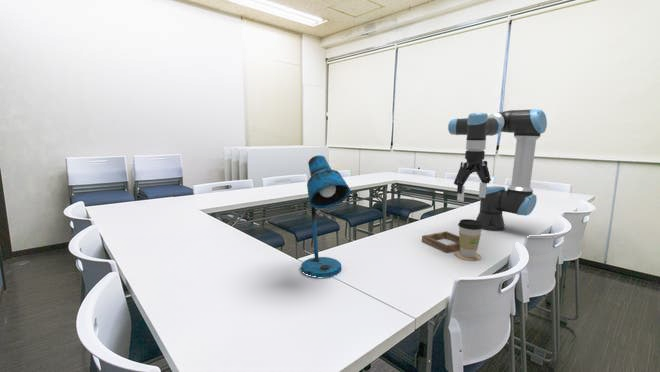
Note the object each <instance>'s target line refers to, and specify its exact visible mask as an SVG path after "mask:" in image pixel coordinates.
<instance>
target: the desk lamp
mask: <svg viewBox="0 0 660 372" xmlns="http://www.w3.org/2000/svg"><path fill="white" fill-rule="evenodd" d="M325 157H326V156H324V155H314V156H312V157H311V158H310V159H309V160H308V162H307V163H308V170H309V173H310V177H309V179H308V181H307V183H306V187H307V196H308V203H309V206H311V207H310V208H311V211H310V212H311V226H312V227H311V229H312V241H313V243H312V245H313V253H314V256H313V257H312V258H311V257H310V258H308V259H306V260H304V261H303V262H302V263H301V266H300V267H301V268H300V271H301V270H302V271H301V273H302V272H304V273H305V274H308V275H311V276H316V277H329V278H332V277H331V276H333V277H335V276H334V275H336V276H338V275H339V274H340V273H341V272H342V264H341V262H340V261H339V260H337V259H336V258H334V257H333V258H331V257H329V256H328V257H327V256H319V246H318V245H319V244H318V232H317V216H316V214H317V213H316V209H318V210H319V209H329V208H332V207H334V206H336V205H339V204H340V203H343V202H344V201H345V200H346V199H347V198H348V197H349V196H350V194H351V188H350V187H349V185H348V183H347V182H346V180H345V179H344V178H343V176H342V174H341V173H340V172H339V171H338V170H336V169H332V167H331V166H330V164H329V162H328V161H327V158H325ZM338 273H339V274H338ZM305 274H304V275H305ZM337 274H338V275H337Z"/></svg>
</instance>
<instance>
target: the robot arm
mask: <svg viewBox="0 0 660 372" xmlns="http://www.w3.org/2000/svg"><path fill="white" fill-rule="evenodd" d="M547 125H548V120H547V115H546V113H545V112H544V111H543V110H542V109H536V108H535V109H534V108H533V109H532V108H531V109H517V110H516V109H514V110H513V109H511V110H509V109H508V110H504V111H501V112H500V111H499V112H496V113H495V112H494V113H491V114H490V115H488V113H487V112H475V113H474V112H471V113H469V114H468V116H467V118H464V117H463V118H452V119H450V121H449V122H448V125H447V126H448V127H447V130H448V132H449V134H450V135H452V136H453V135H455V136H466V142H465V143H466V144H465V149H466V151H464V152H465V155H464V159H465V160H466V162H463V161H461V162H460V165H459V170H458V171H457V174H456V176H455V179H454V181H453V184H454V185H455V186H457V190H456V193H457V198H456V200H457V202H464V200H465V187H466V186H465V184H466V182H467V181H468V179H469V177H470V175H472V174H473V173H476V174H477V176H478V178H479V181H480V182H479V189H478V198H480V202H479V213H478V215H477V217H476V219H475V220H476V221H479V222H481V224H482V226H483V228H482V229H481V230H487V231H496V232H497V231H498V232H499V231H503V230H505V227H506V224H505V220H504V216H503V212H504V213H510V214H515V215H518V216H529V215H530V214H531V213H532V212H533V211H534V210H535V207H536V204H537V199H538V198H537V195H536V194H534V190H533V189H532V187H531V183H532V182H531V181H532V175H533V168H534V158H535V152H536V144H537V140H538V139H540V138H541V134H544V133H545V132H546V130H547ZM499 133H511V134H513V137H514V138H515V139H516V143H515V152H514V159H513V168H512V175H511V176H512V177H511V183H510V185H509V186H508V187H507V188H506V187H505V186H487V185H488V184H490V181H492V179H491V174H490V171H489V167H488V161H487V160H485V153H486V152H485V150H486V143H487V136H497V135H498V134H499ZM506 189H507V190H506Z"/></svg>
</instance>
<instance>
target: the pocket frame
mask: <svg viewBox="0 0 660 372" xmlns="http://www.w3.org/2000/svg"><path fill="white" fill-rule="evenodd" d="M443 239H447V240H449V241H451V242H454V243H450V244H449V243H448V244H446V243H444V242H441V241H439V240H443ZM421 242H422V243H424V244H426V245H429V246H431V247H433V248H434V249H437V250H439V251H442V252H443V253H447V254H448V253H452V252H456V251H458V250H460V242H459V235H457V234H454V233H451V232H449V231H440V232H436V233H431V234H430V233H429V234H425V235H422V236H421Z"/></svg>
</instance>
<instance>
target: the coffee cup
mask: <svg viewBox="0 0 660 372" xmlns="http://www.w3.org/2000/svg"><path fill="white" fill-rule="evenodd" d="M457 225H458V228H459V229H458V230H459V231H458V236H459V242H460V254H461V255H462V256H464V257H470V258H472V257H475V256H476V253H477V251H478V248H479V243H480V240H481V235H482V233H481V232H482V230H483V229H482V228H483V226H482V224H481V222H479V221H476V219H469V218H468V219H467V218H466V219H460V221H459V222H458V223H457Z"/></svg>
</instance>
